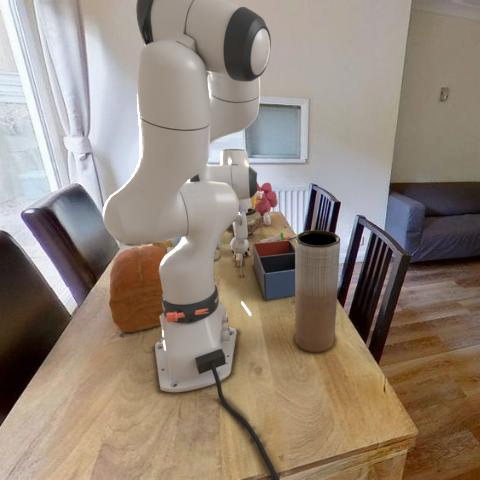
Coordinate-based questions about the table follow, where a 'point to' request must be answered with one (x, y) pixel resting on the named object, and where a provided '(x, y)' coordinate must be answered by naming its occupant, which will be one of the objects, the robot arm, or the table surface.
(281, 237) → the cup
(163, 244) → the figurine
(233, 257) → the toy figure
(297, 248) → the planter
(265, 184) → the toy
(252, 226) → the ceramic bowl
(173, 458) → the table surface
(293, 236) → the scissors
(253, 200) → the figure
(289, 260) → the sorting bins
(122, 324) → the bread
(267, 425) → the table surface
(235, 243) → the lollipop
